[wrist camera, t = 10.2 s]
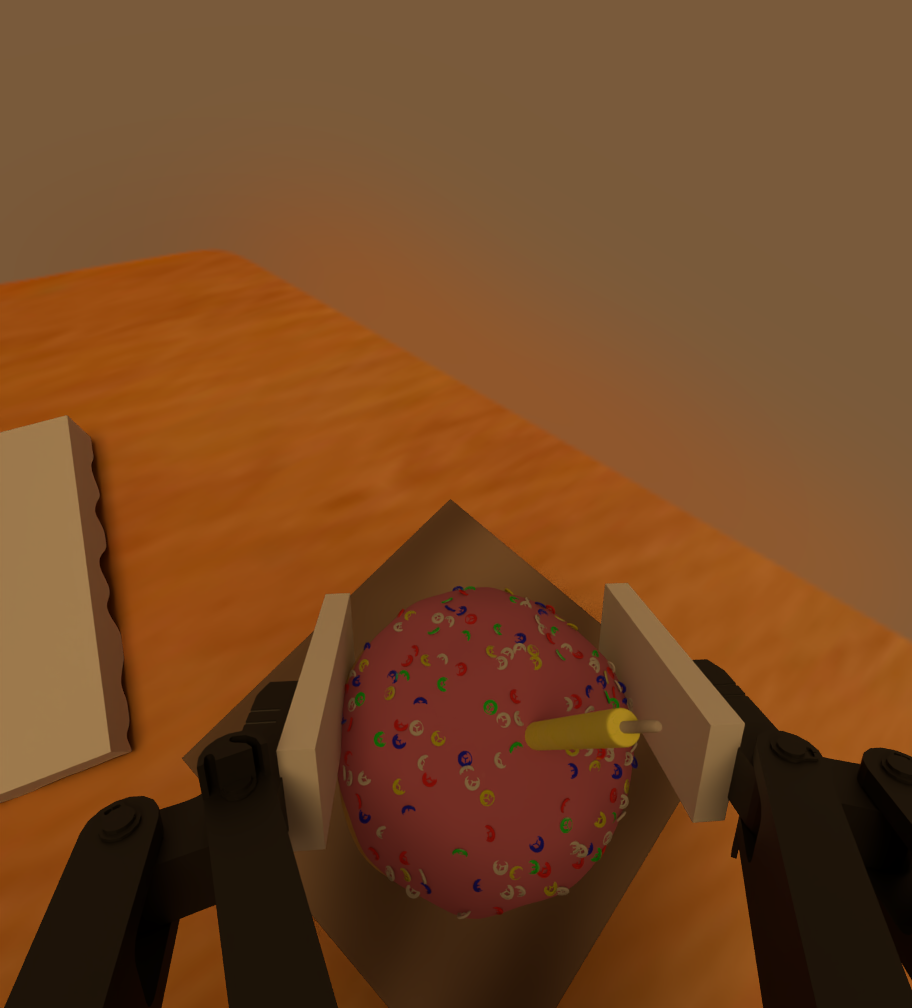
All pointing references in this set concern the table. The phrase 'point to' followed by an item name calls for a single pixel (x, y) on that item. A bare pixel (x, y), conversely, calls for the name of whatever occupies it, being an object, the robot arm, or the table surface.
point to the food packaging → (54, 613)
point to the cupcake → (484, 752)
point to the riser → (415, 921)
